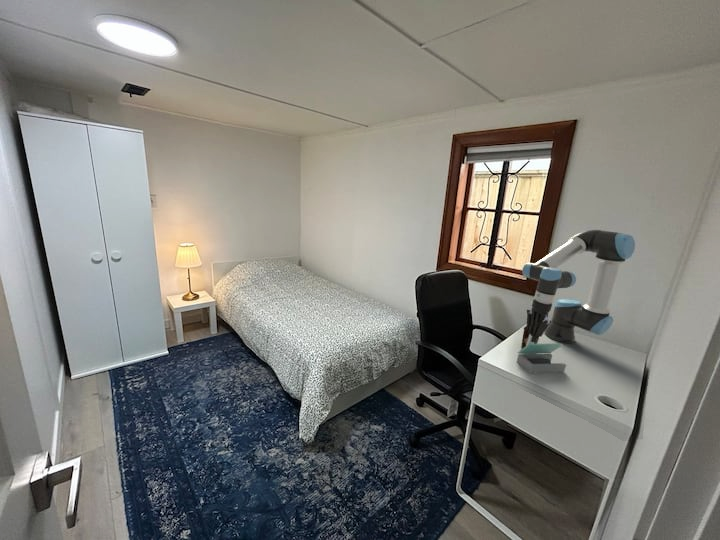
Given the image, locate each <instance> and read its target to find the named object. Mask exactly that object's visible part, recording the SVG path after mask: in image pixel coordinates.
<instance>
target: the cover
mask: <svg viewBox="0 0 720 540" xmlns="http://www.w3.org/2000/svg"><path fill="white" fill-rule="evenodd" d="M562 346H564V345H563V342H560V343H559V342H558V343H537V344H528V345H527V346H525V347H524V348H523V349H522V348H521V349H520V350H519V351H518V352H517V354H518V355H519V354H553V352H555V351H556V350H558V349H559V348H561V347H562Z"/></svg>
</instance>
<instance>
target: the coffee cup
mask: <svg viewBox="0 0 720 540" xmlns="http://www.w3.org/2000/svg"><path fill="white" fill-rule="evenodd" d="M529 328H530V327H529ZM522 334H523V335H522V338H521V339H522V340H521V343H520V344H521V347H520V348H521V350H522V349H523V348H524V347H525V346H526V344H527V341H528V335H529V332H528V330H526V326H524V327H523V333H522ZM539 341H540V337H537V339H536V342H534V344H539V343H538V342H539Z"/></svg>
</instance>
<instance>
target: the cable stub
mask: <svg viewBox="0 0 720 540" xmlns="http://www.w3.org/2000/svg"><path fill="white" fill-rule="evenodd" d="M528 360H529V361H530V362H531V363H532V364H552V360H551V361H550V360H549V359H528Z"/></svg>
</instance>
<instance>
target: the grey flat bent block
mask: <svg viewBox="0 0 720 540" xmlns="http://www.w3.org/2000/svg"><path fill="white" fill-rule="evenodd" d="M552 357H553V353H536V354H518V355H517V360H516V362H517V364H519V365H520V366H521V367H522V368H524V369H525V370H526V371H527V372H528V373H530V374H549V373H564V372H565V371H566V367H567V364H566V363H565V362H560V363H559V362H558V363H556V362H555V363H551V364H532V363H531V362H530V361H529V360H528V359H549V360H550V361H551V362H552Z"/></svg>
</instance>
